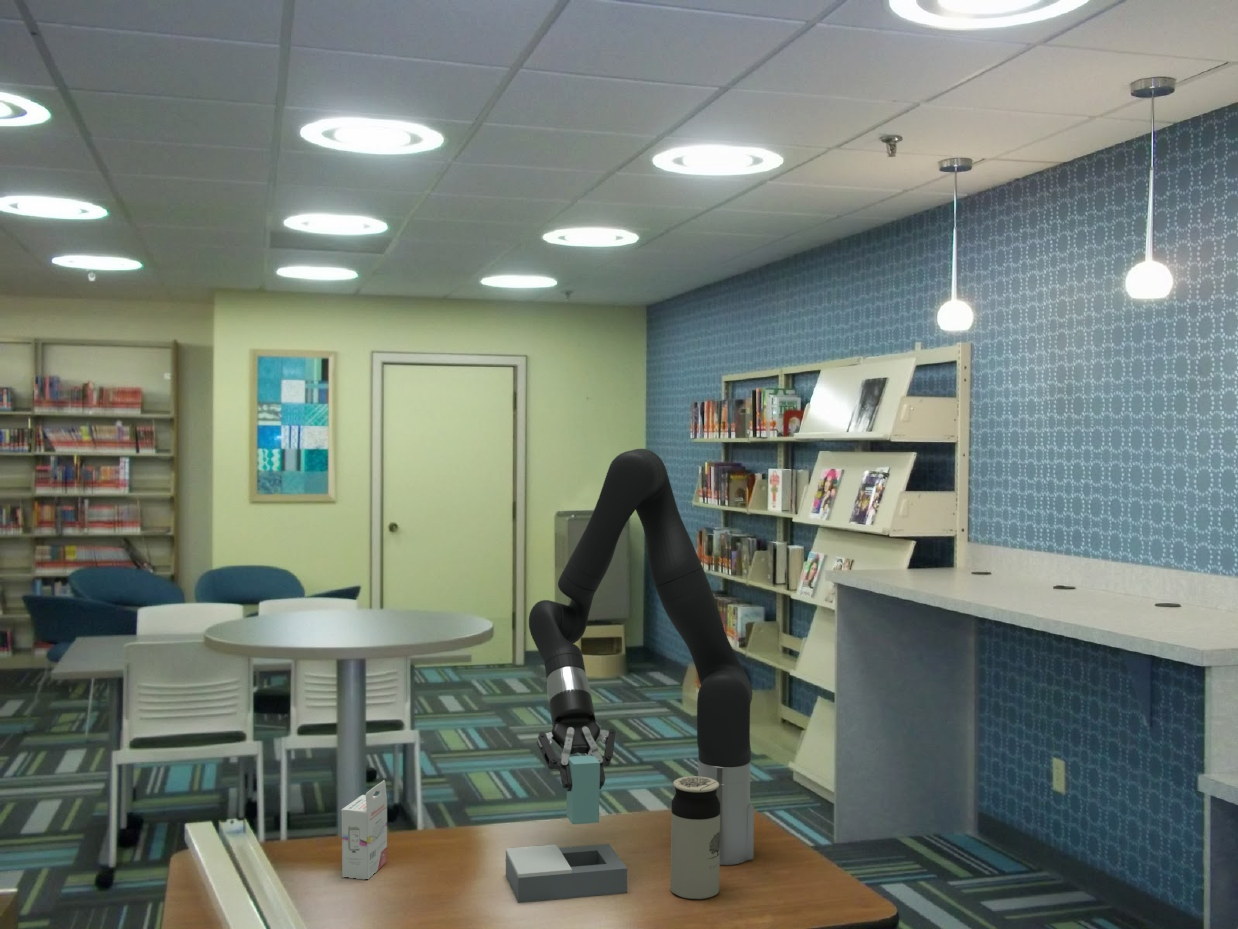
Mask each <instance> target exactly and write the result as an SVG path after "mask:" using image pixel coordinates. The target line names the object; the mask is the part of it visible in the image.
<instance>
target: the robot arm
mask: <svg viewBox="0 0 1238 929" xmlns="http://www.w3.org/2000/svg"><path fill="white" fill-rule="evenodd" d="M634 512H636V515H637V516H638V519H639V520H640V523H641V526H642V528H643V532H644V537H645V543H646V552H647V559H648V568H649V571H650V575H651V578H652V583H653V584H654V585H653V586H654V588H655V591H656V594H657V595H658V598H659V601H660V602H661V604H662V607H663V609H664V611H665V614H666V615H667V617H668V618H669V620H670V622H671V624H672V625H673V627H674V628H675V630H676V631H677V633H678V634H679V635H680V637H681V638H682V640H683V642H684V643H685V644H686V647H687V649H688V651H689V652H690V655H691V658H692V661H693V664H694V666H695V667H694V668H695V669H696V672H697V673H696V674H697V675H698V676H697V677H698V679H699V683H700V687H699V689H698V693H697V697H696V698H697V700H696V701H697V702H696V741H697V749H698V750H697V751H698V760H697V762H698V764H697V765H698V768H697V769H698V770H697V776H698V777H707V778H711V779H714V780H716V781H717V782H718V783H719V787H718V788H717V793H716V795H717V797H718V799H719V801H720V863H719V866H721V865H722V866H725V865H726V866H729V865H739V864H741V863H744V862H747V861H751V860H752V861H753V860H754V843H755V841H754V840H755V836H754V834H755V831H754V829H755V828H754V826H755V824H754V822H755V820H754V819H755V807H754V805H753V804H752V803H751V757H752V756H751V752H752V751H751V750H752V748H751V736H750V735H751V733H750V732H751V731H750V730H751V703H752V700H753V687H752V683H751V681H750V679H749V677H748V675H747V673H746V672H745V670H744V668H743V666H742V664H741V663H740V660H739V659H738V658H739V657H738V656H737V655H736V652H735V650H734V649H733V647H732V645H731V643H730V640H729V638H728V635H727V634H726V630H725V628H724V625H723V621H722V617H721V613H720V611H719V608H718V605H717V602H716V600H715V599H716V598H715V597H714V594H713V593H714V592H713V591H712V587H711V584H710V583H709V582H710V581H709V580H708V577H707V574H706V572H705V569H704V567H703V565H702V563H701V560H700V558H699V556H698V553H697V552H696V549H695V546H694V544H693V542H692V539H691V536H690V534H689V532H688V530H687V528H686V525H685V524H684V521H683V519H682V517H681V514H680V513H679V512H680V511H679V509H678V506H677V502H676V499H675V496H674V492H673V489H672V485H671V481H670V477H669V474H668V471H667V468H666V465H665V463H664V462H663V460H662V458H661V456H659V455H658V454H657V453H655V452H654V451H652V450H650V449H646V448H634V449H631V450H626V451H624V452H621V453H619V454H618V455H616V457H615V458H614V459H613V460H612V461H611V463H610V464H609V467H608V470H607V473H606V475H605V477H604V481H603V484H602V488H601V490H600V494H599V496H598V499H597V502H596V505H595V507H594V510H593V512H592V514H591V517H590V519H589V521H588V522H587V523H588V524H587V526H586V527H585V529H584V531H583V533H582V535H581V537H580V539H579V540H578V542H577V545H576V547H574V550H573V552H572V554H571V555H570V557H569V560H568V561H567V563H566V565H565V567H564V568H563V571H562V572H561V574H560V576H559V579H558V582H557V587H558V590H560V593H562V594H563V595H564V596H566V597H567V598H569V599H570V603H569V604H568V605H567V604H564V603H561V602H557V601H553V600H550V599H543V600H539V601H537V602H536V603H535V604H534V605H533V606H532V608H531V610H530V612H529V616H528V628H529V632H530V636H531V637H532V640H533V642H534V644H535V647H536V649H537V651H538V653H539V655H540V657H541V659H542V661H543V664H544V670H545V676H546V691H547V702H548V705H549V712H550V717H551V726H552V729H551V731H550V732H547V733H545V732H544V731H540V732H539V733H538V736H537V739H536V745H537V747H538V749H539V750H540V753H541V756H542V757H543V759H544V762H545V764H546V765H547V767H548V769H549V770H554V769H556V770H558V771H559V773H560V774H559V775H560V781H561V786H562V788H563V789H565V790H566V792H567V791H571V789H572V779H571V772H570V766H568V761H569V759H568V758H569V757H571V755H573V754H585V755H584V756H591V755H592V756H595V758H596V759H597V760H598V761H599V762H600V790H602V787H604V784H605V781H606V774H605V770H604V767H609V766H610V764H611V762H612V760H613V757H614V751H615V750H614V749H615V741H616V733H617V731H616V730H615V729H614V728H610V729H609V730H605V729H601V727H600V726H599V725H598V724H597V722H596V721H597V720H596V715H595V710H594V708H595V707H594V704H593V698H592V697H593V696H592V692H591V688H590V682H589V680H588V677H587V673H586V667H585V661H584V658H583V657H584V656H583V652H582V650H581V649H580V647H579V646H577V645H576V644H575V643H577V642H578V641H579V640H581V639H582V637H583V636H584V634H585V632H586V629H587V627H588V626H587V625H588V620H589V616H590V610H591V608H592V602H593V598H594V596H595V593H596V592H597V590H598V588H599V586H600V585H601V583H602V581H603V579H604V577H605V575H606V573H607V572H608V569H609V567H610V564H611V562H612V559H613V557H614V554H615V551H616V549H617V548H616V547H617V544H618V542H619V539H620V536H621V534H622V532H623V530H624V527H625V526H626V525H627V522H629V519H630V518H631V517H632V515H633V514H634ZM598 738H600V739H601V742H602V744H603V745H605V746H604V753H603V755H601V753H600V751H599V746H598V745H597V743H596V741H597V740H598ZM552 740H553V741H554V742H555V743H556V744H557V745H558V747H560V748H561V754H560V758H557V755H556V752H555V751H554V748H553V746H552V743H553V741H552Z"/></svg>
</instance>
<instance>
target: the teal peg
mask: <svg viewBox="0 0 1238 929" xmlns="http://www.w3.org/2000/svg"><path fill="white" fill-rule="evenodd" d="M568 759H569V761H568V766H570V772H571V779H572V789H571V791H566V817H567V819H568V820H569V822H570V823H571V825H583V824H585V825H586V824H597V823H600V790H601V789H600V762H599V761H598V760H597V759H596V758H595V756H592V755H591V756H586V755H576V756H575V755H573V756H569V758H568Z"/></svg>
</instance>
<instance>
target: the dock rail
mask: <svg viewBox="0 0 1238 929" xmlns="http://www.w3.org/2000/svg"><path fill="white" fill-rule="evenodd" d="M505 877H506V879H507V882H508V883H510V884H509V886H510V888H511V890H512V892H513V894H514V897H515V898H516V901H517V903H518V904H519V903H521V904H522V903H530V902H541V901H551V900H561V899H562V900H563V899H571V898H572V899H573V898H583V897H594V896H595V897H596V896H605V895H615V894H617V895H618V894H626V893H628V867H627V866H626V865H625V863H624V862H623V861H622V859H621V858H620V857H619V855H618V854H617V852H616V851H615V850H614V848H613V847H612V846H611V845H610V843H603V844H602V843H601V844H591V845H590V844H589V845H577V846H576V845H575V846H563V847H559V846H558V844H545V845H536V846H535V845H533V846H523V847H521V846H520V847H519V846H518V847H511V848H510V847H508V848H505Z"/></svg>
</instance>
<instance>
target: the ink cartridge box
mask: <svg viewBox="0 0 1238 929" xmlns="http://www.w3.org/2000/svg"><path fill="white" fill-rule="evenodd" d="M376 792H377V793H378V794H377V795H375V794H376ZM387 794H388V793H387V786H386V780H385V779H383V780H382V781H381V782H379V783H378V784H376V785H375V786H373V787H372V788H371V789H369V790H368V791H366V793H365V794H361V795H360V796H358V797H357V798H356V799H355V800H353V801H352V802H350V803H349V804H347V805H346V806H344V807H343V808H341V857H342V858H341V862H342V864H341V865H342V866H341V869H342V871H341V875H342V876H341V877H349V878H348V879H353V878H356V879H355V880H365V879H368V880H369V879H370V878H372V877H373V876H374V875H373V874H374V873H375V874H376V873H377V872H378V871H379V870H380V869H382V867H384V866H385V865H386V863H387V862H388V797H387Z"/></svg>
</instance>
